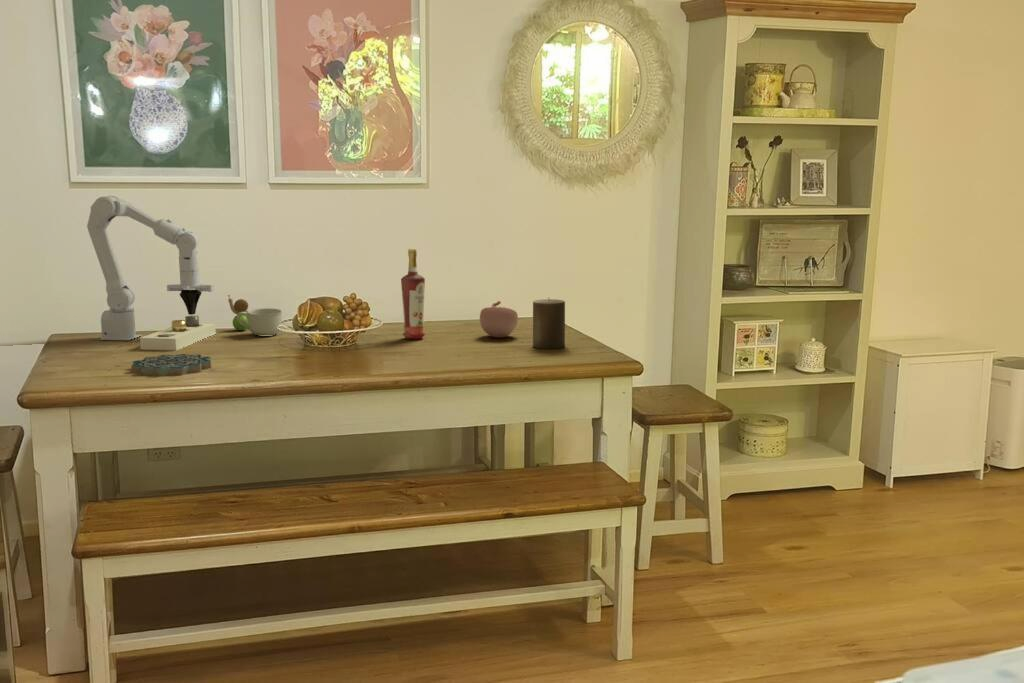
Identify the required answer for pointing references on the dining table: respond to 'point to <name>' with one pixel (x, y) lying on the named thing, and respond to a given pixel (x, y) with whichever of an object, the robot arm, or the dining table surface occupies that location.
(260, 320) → the teacup
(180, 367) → the decorative tile
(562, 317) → the pillar candle
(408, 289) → the liquor
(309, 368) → the dining table surface
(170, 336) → the knob near
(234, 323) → the snail figurine
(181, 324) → the knob brass
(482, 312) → the pink decorative apple
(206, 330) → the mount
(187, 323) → the knob far
